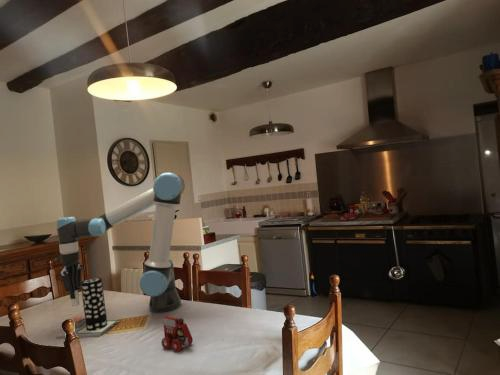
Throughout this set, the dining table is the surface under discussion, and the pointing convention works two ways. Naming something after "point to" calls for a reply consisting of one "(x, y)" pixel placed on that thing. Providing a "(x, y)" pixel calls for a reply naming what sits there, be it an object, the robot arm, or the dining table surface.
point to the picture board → (82, 332)
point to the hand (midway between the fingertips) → (75, 305)
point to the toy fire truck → (175, 333)
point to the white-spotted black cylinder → (94, 304)
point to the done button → (78, 319)
